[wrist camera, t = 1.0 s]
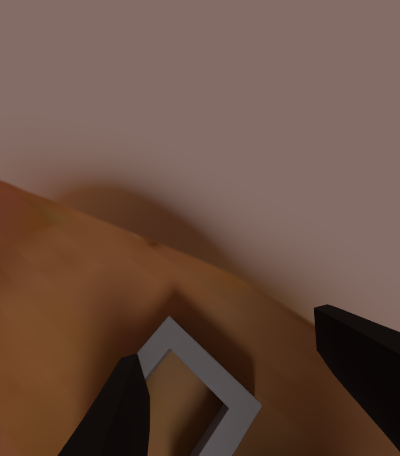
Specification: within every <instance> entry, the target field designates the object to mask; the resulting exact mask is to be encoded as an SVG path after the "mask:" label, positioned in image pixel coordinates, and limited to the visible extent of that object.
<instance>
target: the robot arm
mask: <svg viewBox="0 0 400 456" xmlns="http://www.w3.org/2000/svg"><path fill="white" fill-rule="evenodd" d="M314 317H315V332H316V346H317V351H318V352H319V354H320V355H321V357H322V358H323V360H324V361H325V363H326V364H327V366H328V367H329V368H330V370H331V371H332V373H333V374H334V375H335V377H336V378H337V379H338V380H339V381H340V383H341V384H342V385H343V386H344V387H345V388H346V390H347V391H348V392H349V393H350V394H351V395H352V397H353V398H354V399H355V400H356V401H357V402H358V403H359V405H360V406H361V407H362V408H363V409H364V410H365V411H366V413H367V414H368V415H369V416H370V417H371V418H372V420H373V421H374V422H375V423H376V424H377V425H378V426H379V428H380V429H381V430H382V431H383V432H384V433H385V434H386V436H387V437H388V438H389V439H390V440H391V442H392V443H393V444H394V445H395V446H396V448H397V449H398V450H399V451H400V332H398V331H395V330H393V329H390V328H388V327H385V326H382V325H380V324H377V323H375V322H372V321H370V320H367V319H365V318H362V317H360V316H357V315H355V314H352V313H349V312H347V311H344V310H342V309H339V308H337V307H334V306H331V305H328V304H327V305H323V306H319V307H316V308H314ZM149 432H150V395H149V392H148V388H147V385H146V382H145V378H144V375H143V371H142V368H141V364H140V361H139V357H138V354H135V355H131V356H127V357H123V358H121V359H120V361H119V362H118V364H117V365H116V367H115V369H114V370H113V372H112V374H111V375H110V377H109V378H108V380H107V382H106V383H105V385H104V387H103V388H102V390H101V392H100V393H99V395H98V396H97V398H96V399H95V401H94V403H93V404H92V406H91V407H90V409H89V410H88V412H87V414H86V415H85V417H84V418H83V420H82V421H81V423H80V424H79V426H78V427H77V428H76V430H75V431H74V433H73V434H72V436H71V437H70V439H69V440H68V441H67V443H66V444H65V446H64V447H63V449H62V450H61V452H60V453H59V454H58V456H147V453H148V443H149Z"/></svg>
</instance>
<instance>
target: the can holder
mask: <svg viewBox="0 0 400 456" xmlns="http://www.w3.org/2000/svg"><path fill="white" fill-rule="evenodd" d="M170 350H172V351H173V352H174V353H175V354H176V355H177V356H178V357H179V358H180V359H181V360H182V361H183V362H184V363H185V364H186V365H187V366H188V367H189V368H190V369H191V370H192V371H193V372H194V373H195V374H196V375H197V376H198V377H199V378H200V379H201V380H202V381H203V382H204V383H205V384H206V385H207V386H208V387H209V388H210V389H211V390H212V391H213V392H214V393H215V394H216V395H217V397H218V398H219V399H220V400H221V401H222V402H223V403H224V404H223V405H222V407H221V408H220V410H219V411H218V413H217V414H216V416H215V417H214V419H213V420H212V422H211V423H210V425H209V426H208V428H207V429H206V431H205V432H204V434H203V435H202V437H201V439H200V440H199V442H198V443H197V445H196V446H195V448H194V449H193V451H192V452H191V454H190V455H189V456H232V455H233V453H234V452H235V450H236V448H237V447H238V445H239V443H240V442H241V440H242V438H243V437H244V435H245V433H246V432H247V430H248V428H249V427H250V425H251V423H252V422H253V420H254V418H255V417H256V415H257V413H258V412H259V410H260V408H261V407H262V404H261V403H260V402H259V401H258V400H257V399H256V398H255V397H254V396H253V395H252V394H251V393H250V392H249V391H248V390H247V389H246V388H245V387H244V386H243V385H242V384H241V383H240V382H239V381H238V380H237V379H236V378H234V377H233V376H232V375H231V374H230V373H229V372H228V371H227V370H226V369H225V368H224V367H223V366H222V365H221V364H220V363H219V362H218V361H217V360H216V359H215V358H214V357H213V356H211V355H210V354H209V353H208V352H207V351H206V350H205V349H204V348H203V347H202V346H201V345H200V344H199V343H198V342H197V341H196V340H195V339H194V338H193V337H192V336H191V335H190V334H188V333H187V332H186V331H185V330H184V329H183V328H182V327H181V326H180V325H179V324H178V323H177V322H176V321H175V320H174V319H173V318H171V317H170V316H168V317H167V319H166V320H165V321H164V322H163V323H162V325H161V326H160V327H159V328H158V329H157V330H156V332H155V333H154V334H153V335H152V336H151V337H150V339H149V340H148V341H147V342H146V343H145V344H144V346H143V347H142V348H141V349H140V350H139V351H138V353H137V354H138V357H139V361H140V364H141V368H142V371H143V375H144V378H145V381H146V380H147V379H148V378H149V376H150V375H151V374H152V373H153V371H154V370H155V369H156V368H157V366H158V365H159V364H160V363H161V361H162V360H163V359H164V358H165V356H166V355H167V354H168V353H169V352H170ZM87 412H88V411H87Z"/></svg>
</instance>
